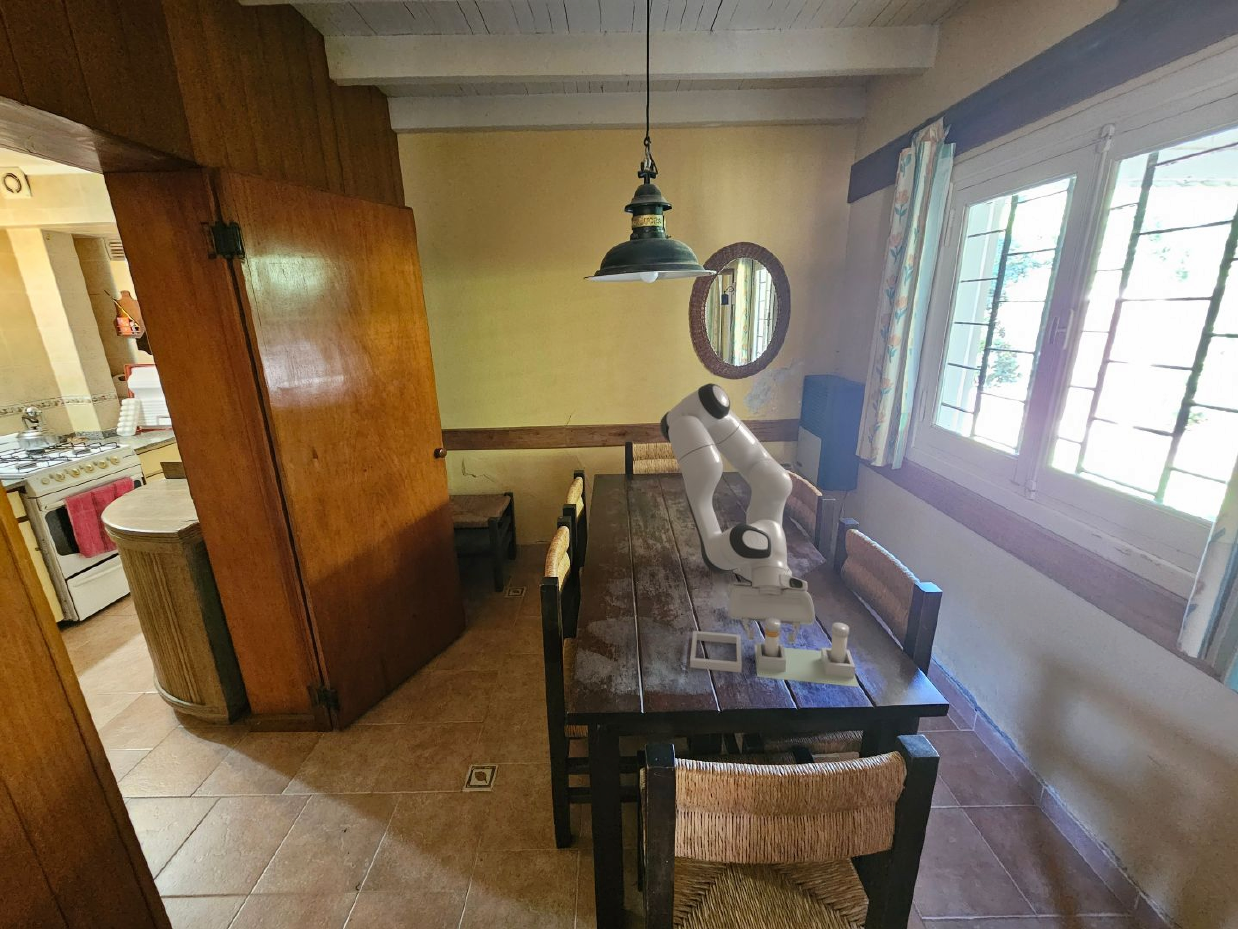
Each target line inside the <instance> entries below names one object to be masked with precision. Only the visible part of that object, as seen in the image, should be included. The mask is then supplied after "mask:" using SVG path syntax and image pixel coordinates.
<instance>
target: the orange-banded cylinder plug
mask: <svg viewBox="0 0 1238 929" xmlns="http://www.w3.org/2000/svg"><path fill="white" fill-rule="evenodd" d="M781 626H782V623H781V622H780V620H778V619H776V618H772V617H770V618H766V619H765V622H764V643H765V646H764V654H763V656H766V657H778V658H779V656H778V647H779V644H780V643H779V642H780V631H781Z"/></svg>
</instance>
